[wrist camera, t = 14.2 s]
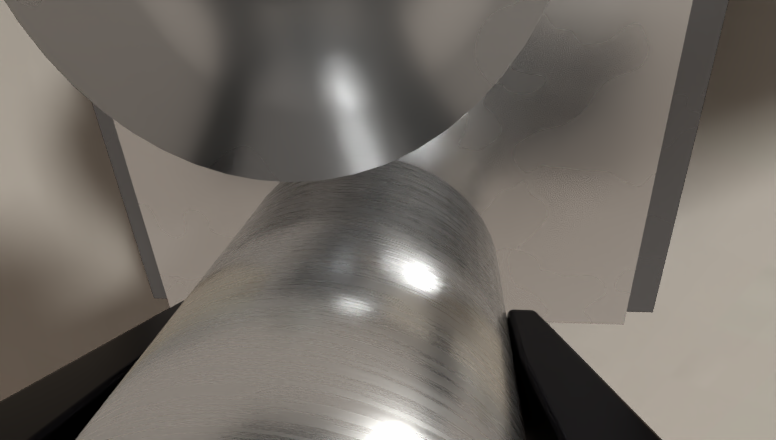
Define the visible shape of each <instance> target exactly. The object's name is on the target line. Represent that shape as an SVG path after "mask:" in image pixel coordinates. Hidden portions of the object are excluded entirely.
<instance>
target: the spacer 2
mask: <svg viewBox="0 0 776 440" xmlns="http://www.w3.org/2000/svg"><path fill="white" fill-rule="evenodd" d="M75 440H526V435H525V429H524V422H523V416H522V410H521V404H520V397H519V391H518V385H517V378H516V372H515V366H514V360H513V353H512V347H511V341H510V335H509V328H508V322H507V316H506V309H505V303H504V297H503V291H502V284H501V278H500V272H499V266H498V260H497V254H496V249H495V246H494V243H493V240H492V237H491V235H490V233H489V231H488V229H487V227H486V225H485V223H484V221H483V219H482V218H481V217H480V215H479V214H478V213H477V211H476V210H475V208H474V207H473V206H472V205H471V204H470V203H469V202H468V201H467V200H466V199H465V197H464V196H463V195H462V194H461V193H459V192H458V191H457V190H456V189H454V188H453V187H452V186H451V185H449V184H448V183H447V182H445V181H443V180H442V179H440V178H439V177H437V176H435V175H434V174H432V173H430V172H428V171H425V170H423V169H421V168H419V167H417V166H414V165H411V164H408V163H405V162H401V161H398V160H394V161H391V162H389V163H387V164H385V165H382V166H379V167H375V168H372V169H369V170H366V171H363V172H360V173H357V174H354V175H348V176H343V177H338V178H333V179H327V180H319V181H303V182H280V183H279V184H278V185H277V186H276V187H275V188H274V189H273V190H272V191H271V192H270V193H269V194H268V195H267V196H266V197H265V199H264V200H263V201H262V202H261V204H260V205H259V206H258V207H257V209H256V210H255V211H254V213H253V214H252V215H251V216H250V218H249V219H248V220H247V222H246V223H245V224H244V225H243V227H242V228H241V229H240V230H239V232H238V233H237V234H236V236H235V237H234V238H233V239H232V241H231V242H230V243H229V244H228V246H227V247H226V248H225V250H224V251H223V252H222V253H221V255H220V256H219V257H218V258H217V260H216V261H215V262H214V264H213V265H212V266H211V267H210V269H209V270H208V271H207V272H206V274H205V275H204V276H203V278H202V279H201V280H200V281H199V283H198V284H197V285H196V286H195V288H194V289H193V290H192V292H191V293H190V294H189V295H188V297H187V298H186V299H185V300H184V302H183V303H182V304H181V306H180V307H179V308H178V309H177V311H176V312H175V313H174V314H173V316H172V317H171V318H170V320H169V321H168V322H167V323H166V325H165V326H164V327H163V328H162V330H161V331H160V332H159V334H158V335H157V336H156V337H155V339H154V340H153V341H152V342H151V344H150V345H149V346H148V348H147V349H146V350H145V351H144V353H143V354H142V355H141V356H140V358H139V359H138V360H137V362H136V363H135V364H134V365H133V367H132V368H131V369H130V370H129V372H128V373H127V374H126V376H125V377H124V378H123V379H122V381H121V382H120V383H119V385H118V386H117V387H116V388H115V390H114V391H113V392H112V393H111V395H110V396H109V397H108V399H107V400H106V401H105V402H104V404H103V405H102V406H101V407H100V409H99V410H98V411H97V413H96V414H95V415H94V416H93V418H92V419H91V420H90V421H89V423H88V424H87V425H86V427H85V428H84V429H83V430H82V432H81V433H80V434H79V435H78V437H77V438H76V439H75Z"/></svg>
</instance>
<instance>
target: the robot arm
mask: <svg viewBox="0 0 776 440" xmlns="http://www.w3.org/2000/svg"><path fill="white" fill-rule="evenodd" d="M183 302H184V301H181V302H180V303H178V304H176V305H174V306H172V307H170V308H169V309H167V310H165V311H163V312H161V313H160V314H158V315H156V316H154V317H152V318H151V319H149V320H147V321H145V322H143V323H142V324H140V325H138V326H136V327H134V328H133V329H131V330H129V331H127V332H125V333H123V334H122V335H120V336H118V337H116V338H114V339H113V340H111V341H109V342H107V343H105V344H104V345H102V346H100V347H98V348H96V349H95V350H93V351H91V352H89V353H87V354H86V355H84V356H82V357H80V358H78V359H76V360H75V361H73V362H71V363H69V364H67V365H66V366H64V367H62V368H60V369H58V370H57V371H55V372H53V373H51V374H49V375H48V376H46V377H44V378H42V379H40V380H39V381H37V382H35V383H33V384H31V385H29V386H28V387H26V388H24V389H22V390H20V391H19V392H17V393H15V394H13V395H11V396H10V397H8V398H6V399H4V400H2V401H1V402H0V440H75V439H76V438H77V437H78V435H79V434H80V433H81V432H82V430H83V429H84V428H85V427H86V425H87V424H88V423H89V421H90V420H91V419H92V418H93V416H94V415H95V414H96V413H97V411H98V410H99V409H100V407H101V406H102V405H103V404H104V402H105V401H106V400H107V399H108V397H109V396H110V395H111V393H112V392H113V391H114V390H115V388H116V387H117V386H118V385H119V383H120V382H121V381H122V379H123V378H124V377H125V376H126V374H127V373H128V372H129V370H130V369H131V368H132V367H133V365H134V364H135V363H136V362H137V360H138V359H139V358H140V356H141V355H142V354H143V353H144V351H145V350H146V349H147V348H148V346H149V345H150V344H151V342H152V341H153V340H154V339H155V337H156V336H157V335H158V334H159V332H160V331H161V330H162V328H163V327H164V326H165V325H166V323H167V322H168V321H169V320H170V318H171V317H172V316H173V314H174V313H175V312H176V311H177V309H178V308H179V307H180V306H181V304H182V303H183ZM507 322H508V328H509V335H510V341H511V347H512V353H513V360H514V366H515V372H516V378H517V385H518V391H519V397H520V404H521V410H522V416H523V422H524V429H525V435H526V440H662V439H661V438H660V437H659V436H658V435H657V434H656V433H655V432H654V431H653V430H652V429H651V428H650V427H649V426H648V425H647V424H646V423H645V422H644V421H643V420H642V419H641V418H640V417H639V416H638V415H637V414H636V413H635V412H634V411H633V410H632V409H631V408H630V407H629V406H628V405H627V404H626V403H625V402H624V401H623V400H622V399H621V398H620V397H619V396H618V395H617V394H616V392H615V391H614V390H613V389H612V388H611V387H610V386H609V385H608V384H607V383H606V382H605V381H604V380H603V379H602V378H601V377H600V376H599V375H598V374H597V373H596V372H595V371H594V370H593V369H592V368H591V367H590V366H589V365H588V364H587V363H586V362H585V361H584V360H583V359H582V358H581V357H580V356H579V355H578V354H577V353H576V352H575V351H574V350H573V349H572V348H571V347H570V346H569V345H568V344H567V343H566V342H565V341H564V340H563V339H562V338H561V337H560V336H559V335H558V334H557V333H556V332H555V331H554V330H553V329H552V328H551V326H550V325H549V324H548V323H547V322H546V321H545V320H544V319H543V318H542V317H541V316H540V315H539V314H538V313H537V312H535V311H533V310H517V309H512V310H510V311H509V312H508V314H507Z"/></svg>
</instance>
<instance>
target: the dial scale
mask: <svg viewBox="0 0 776 440" xmlns="http://www.w3.org/2000/svg"><path fill="white" fill-rule="evenodd" d="M728 1H729V0H550V1H549V3H548V5H547V7H546V8H545V10H544V12H543V14H542V16H541V17H540V19H539V21H538V23H537V25H536V26H535V28H534V30H533V32H532V34H531V35H530V37H529V39H528V41H527V43H526V44H525V45H524V47H523V48H522V50H521V51H520V52H519V54H518V55H517V57H516V58H515V59H514V61H513V62H512V64H511V65H510V66H509V68H508V69H507V71H506V72H505V73H504V75H503V76H502V77H501V78H500V79H499V81H498V82H497V83H496V84H495V85H494V86H493V87H492V88H491V89H490V90H489V91H488V93H487V94H486V95H485V96H484V97H483V98H482V99H481V100H480V101H479V102H478V103H477V104H476V106H474V107H473V108H472V109H471V110H470V111H469V112H467V113H466V114H465V115H464V116H463V117H461V118H460V119H459V120H458V121H457V122H456V123H454V124H453V125H452V126H451V127H450V128H449V129H447V130H446V131H444V132H443V133H441V134H440V135H438V136H437V137H435V138H434V139H432V140H431V141H429V142H427V143H426V144H424V145H423V146H421V147H420V148H418V149H416V150H414V151H412V152H410V153H408V154H406V155H404V156H402V157H400V158H398V159H396V160H398V161H401V162H405V163H408V164H411V165H414V166H417V167H419V168H421V169H423V170H425V171H428V172H430V173H432V174H434V175H435V176H437V177H439V178H440V179H442V180H443V181H445V182H447V183H448V184H449V185H451V186H452V187H453V188H454V189H456V190H457V191H458V192H459V193H461V194H462V195H463V196H464V197H465V199H466V200H467V201H468V202H469V203H470V204H471V205H472V206H473V207H474V208H475V210H476V211H477V213H478V214H479V215H480V217H481V218H482V219H483V221H484V223H485V225H486V227H487V229H488V231H489V233H490V235H491V237H492V240H493V243H494V246H495V249H496V254H497V260H498V266H499V272H500V278H501V284H502V291H503V297H504V303H505V309H506V316H507V314H508V312H509V311H510V310H512V309H517V310H533V311H535V312H537V313H538V314H539V315H540V316H541V317H542V318H543V319H544V320H545V321H546V322H558V323H590V324H622V325H624V321H625V316H626V312H653V309H654V305H655V301H656V297H657V293H658V289H659V285H660V281H661V276H662V272H663V268H664V264H665V260H666V256H667V252H668V248H669V244H670V239H671V235H672V231H673V227H674V223H675V219H676V215H677V211H678V207H679V202H680V198H681V194H682V190H683V186H684V182H685V178H686V174H687V170H688V165H689V161H690V157H691V153H692V149H693V145H694V141H695V137H696V133H697V128H698V124H699V120H700V116H701V112H702V108H703V104H704V100H705V96H706V91H707V87H708V83H709V79H710V75H711V71H712V67H713V63H714V59H715V55H716V50H717V46H718V42H719V38H720V34H721V30H722V26H723V22H724V18H725V13H726V9H727V5H728ZM92 104H93V107H94V111H95V114H96V117H97V120H98V123H99V126H100V130H101V133H102V136H103V139H104V142H105V145H106V148H107V152H108V155H109V158H110V161H111V164H112V167H113V170H114V174H115V177H116V180H117V183H118V186H119V189H120V192H121V196H122V199H123V202H124V205H125V208H126V211H127V214H128V218H129V221H130V224H131V227H132V230H133V233H134V237H135V240H136V243H137V246H138V249H139V252H140V255H141V259H142V262H143V265H144V268H145V271H146V274H147V277H148V281H149V284H150V287H151V290H152V293H153V296H154V298H166V299H168V302H169V306H170V307H172V306H174V305H176V304H178V303H180V302H181V301H184V300H185V299H186V298H187V297H188V295H189V294H190V293H191V292H192V290H193V289H194V288H195V286H196V285H197V284H198V283H199V281H200V280H201V279H202V278H203V276H204V275H205V274H206V272H207V271H208V270H209V269H210V267H211V266H212V265H213V264H214V262H215V261H216V260H217V258H218V257H219V256H220V255H221V253H222V252H223V251H224V250H225V248H226V247H227V246H228V244H229V243H230V242H231V241H232V239H233V238H234V237H235V236H236V234H237V233H238V232H239V230H240V229H241V228H242V227H243V225H244V224H245V223H246V222H247V220H248V219H249V218H250V216H251V215H252V214H253V213H254V211H255V210H256V209H257V207H258V206H259V205H260V204H261V202H262V201H263V200H264V199H265V197H266V196H267V195H268V194H269V193H270V192H271V191H272V190H273V189H274V188H275V187H276V186H277V185H278V184H279V183H280V181H264V180H255V179H250V178H245V177H239V176H234V175H229V174H225V173H222V172H218V171H215V170H212V169H209V168H205V167H202V166H199V165H196V164H193V163H191V162H189V161H186V160H184V159H182V158H180V157H177V156H175V155H173V154H170V153H168V152H166V151H164V150H162V149H160V148H158V147H157V146H155V145H153V144H151V143H149V142H148V141H146V140H144V139H142V138H141V137H139V136H137V135H135V134H134V133H132V132H131V131H129V130H128V129H127V128H125V127H124V126H122V125H121V124H120V123H118V122H117V121H115V120H114V119H113V118H111V117H110V116H108V115H107V114H106V113H104V112H103V111H102V110H100V109H99V108H98V107H97V106H96V105H95V104H94V103H92Z"/></svg>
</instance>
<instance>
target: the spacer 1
mask: <svg viewBox="0 0 776 440" xmlns="http://www.w3.org/2000/svg"><path fill="white" fill-rule="evenodd" d="M549 1H550V0H5V2H6V3H7V5H8V7H9V8H10V10H11V11H12V13H13V14H14V16H15V17H16V19H17V20H18V22H19V23H20V25H21V26H22V27H23V28H24V30H25V31H26V32H27V34H28V35H29V36H30V37H31V39H32V40H33V41H34V42H35V44H36V45H37V46H38V48H39V49H40V50H41V51H42V53H43V54H44V55H45V56H46V57H47V59H48V60H49V61H50V62H51V63H52V64H53V65H54V66H55V67H56V68H57V69H58V70H59V71H60V72H61V73H62V74H63V75H64V76H65V78H66V79H67V80H68V81H69V82H70V83H71V84H72V85H73V86H74V87H75V88H76V89H78V90H79V91H80V92H81V93H82V94H83V95H84V96H86V97H87V98H88V99H89V100H90V101H91V102H92V103H94V104H95V105H96V106H97V107H98V108H99V109H100V110H102V111H103V112H104V113H106V114H107V115H108V116H110V117H111V118H113V119H114V120H115V121H117V122H118V123H120V124H121V125H122V126H124V127H125V128H127V129H128V130H129V131H131V132H132V133H134V134H135V135H137V136H139V137H141V138H142V139H144V140H146V141H148V142H149V143H151V144H153V145H155V146H157V147H158V148H160V149H162V150H164V151H166V152H168V153H170V154H173V155H175V156H177V157H180V158H182V159H184V160H186V161H189V162H191V163H193V164H196V165H199V166H202V167H205V168H209V169H212V170H215V171H218V172H222V173H225V174H229V175H234V176H239V177H245V178H250V179H255V180H264V181H280V182H303V181H319V180H327V179H333V178H338V177H343V176H348V175H354V174H357V173H360V172H363V171H366V170H369V169H372V168H375V167H379V166H382V165H385V164H387V163H389V162H391V161H394V160H396V159H398V158H400V157H402V156H404V155H406V154H408V153H410V152H412V151H414V150H416V149H418V148H420V147H421V146H423V145H424V144H426V143H427V142H429V141H431V140H432V139H434V138H435V137H437V136H438V135H440V134H441V133H443V132H444V131H446V130H447V129H449V128H450V127H451V126H452V125H453V124H454V123H456V122H457V121H458V120H459V119H460V118H461V117H463V116H464V115H465V114H466V113H467V112H469V111H470V110H471V109H472V108H473V107H474V106H476V104H477V103H478V102H479V101H480V100H481V99H482V98H483V97H484V96H485V95H486V94H487V93H488V91H489V90H490V89H491V88H492V87H493V86H494V85H495V84H496V83H497V82H498V81H499V79H500V78H501V77H502V76H503V75H504V73H505V72H506V71H507V69H508V68H509V66H510V65H511V64H512V62H513V61H514V59H515V58H516V57H517V55H518V54H519V52H520V51H521V50H522V48H523V47H524V45H525V44H526V43H527V41H528V39H529V37H530V35H531V34H532V32H533V30H534V28H535V26H536V25H537V23H538V21H539V19H540V17H541V16H542V14H543V12H544V10H545V8H546V7H547V5H548V3H549Z"/></svg>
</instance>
